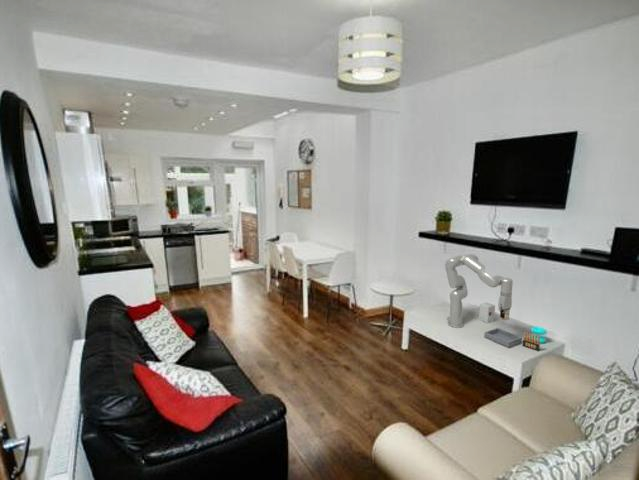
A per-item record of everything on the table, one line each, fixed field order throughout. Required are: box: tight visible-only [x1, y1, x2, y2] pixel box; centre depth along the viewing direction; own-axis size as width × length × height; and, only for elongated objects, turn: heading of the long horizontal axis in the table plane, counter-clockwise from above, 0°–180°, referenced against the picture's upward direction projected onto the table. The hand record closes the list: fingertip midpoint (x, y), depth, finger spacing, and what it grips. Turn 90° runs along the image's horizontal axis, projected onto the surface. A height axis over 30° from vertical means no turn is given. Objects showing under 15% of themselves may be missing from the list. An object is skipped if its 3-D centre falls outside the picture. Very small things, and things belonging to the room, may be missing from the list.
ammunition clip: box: [521, 330, 541, 352], centre depth 245 cm, size 11×2×12 cm, turn 39°
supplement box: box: [478, 302, 496, 324], centre depth 294 cm, size 9×9×15 cm
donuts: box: [530, 326, 548, 344], centre depth 255 cm, size 10×10×10 cm
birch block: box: [499, 308, 511, 321], centre depth 255 cm, size 4×4×8 cm
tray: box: [483, 327, 523, 349], centre depth 258 cm, size 20×16×4 cm
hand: (504, 316), depth 255 cm, fingers closed on birch block, 4 cm apart
